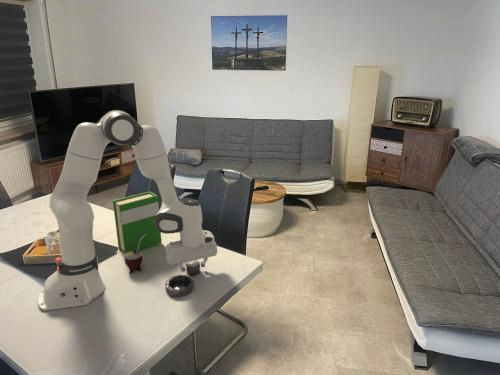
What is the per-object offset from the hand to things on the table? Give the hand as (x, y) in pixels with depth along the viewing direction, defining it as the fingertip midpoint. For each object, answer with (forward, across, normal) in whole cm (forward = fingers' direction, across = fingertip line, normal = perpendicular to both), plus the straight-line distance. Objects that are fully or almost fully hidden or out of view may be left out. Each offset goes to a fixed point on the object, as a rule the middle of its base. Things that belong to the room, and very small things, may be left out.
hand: (193, 268), depth 154 cm
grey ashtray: (+2, -8, -9) cm, 12 cm away
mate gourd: (+2, -21, +12) cm, 24 cm away
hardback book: (+2, -16, +31) cm, 35 cm away
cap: (+2, 0, 0) cm, 2 cm away
